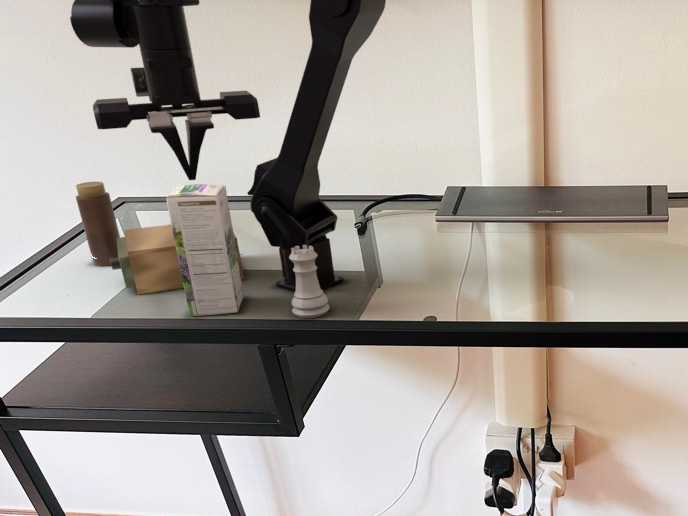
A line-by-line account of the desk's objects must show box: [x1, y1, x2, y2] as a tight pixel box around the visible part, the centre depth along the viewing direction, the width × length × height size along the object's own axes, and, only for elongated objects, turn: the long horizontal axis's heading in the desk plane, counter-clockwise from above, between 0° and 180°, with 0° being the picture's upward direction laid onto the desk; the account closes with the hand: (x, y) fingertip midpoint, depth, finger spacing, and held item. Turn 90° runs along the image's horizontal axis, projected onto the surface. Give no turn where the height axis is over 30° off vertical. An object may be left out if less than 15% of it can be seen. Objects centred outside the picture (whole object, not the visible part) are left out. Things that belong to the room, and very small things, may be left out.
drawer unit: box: [124, 224, 245, 295], centre depth 112 cm, size 13×11×6 cm
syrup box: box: [165, 183, 245, 317], centre depth 99 cm, size 6×6×14 cm
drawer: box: [110, 236, 136, 289], centre depth 111 cm, size 14×10×4 cm
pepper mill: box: [75, 181, 121, 267], centre depth 116 cm, size 4×4×11 cm
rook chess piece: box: [289, 245, 331, 319], centre depth 98 cm, size 4×4×8 cm
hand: (192, 179), depth 107 cm, fingers closed
